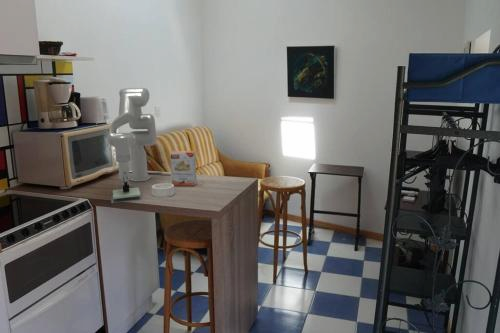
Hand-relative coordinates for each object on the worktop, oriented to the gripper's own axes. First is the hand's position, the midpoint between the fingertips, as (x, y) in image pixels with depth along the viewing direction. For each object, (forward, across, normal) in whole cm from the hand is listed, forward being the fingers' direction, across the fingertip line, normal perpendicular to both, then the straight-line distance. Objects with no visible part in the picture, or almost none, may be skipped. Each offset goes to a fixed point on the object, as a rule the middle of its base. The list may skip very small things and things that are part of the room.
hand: (126, 190), depth 227 cm
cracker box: (+5, -15, +35) cm, 38 cm away
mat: (+4, +1, 0) cm, 4 cm away
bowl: (+4, +1, +20) cm, 20 cm away
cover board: (+2, 0, 0) cm, 2 cm away
